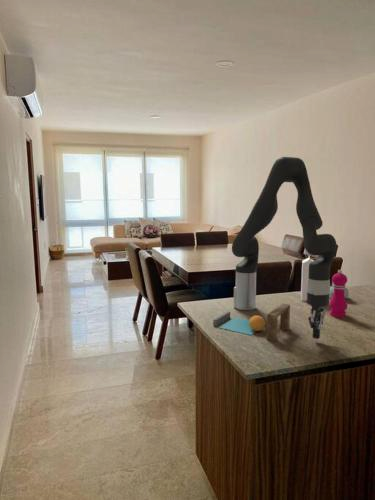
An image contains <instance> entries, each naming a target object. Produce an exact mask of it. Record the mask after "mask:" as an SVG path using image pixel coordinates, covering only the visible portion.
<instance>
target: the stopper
mask: <svg viewBox="0 0 375 500" xmlns="http://www.w3.org/2000/svg"><path fill="white" fill-rule="evenodd" d="M230 318H231V312H230V311H227V312H225V313H223V314H221V315H219V316H217V317H215V318H214V319H213V320H212V321H213V322H212V323H213V325H215V326H214V327H217V326H219V325H221V324H222V323H224V322H226V321H227V320H228V319H230ZM225 320H226V321H225ZM223 321H224V322H223ZM220 323H221V324H220ZM218 324H219V325H218ZM216 325H217V326H216Z"/></svg>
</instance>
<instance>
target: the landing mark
mask: <svg viewBox="0 0 375 500" xmlns="http://www.w3.org/2000/svg"><path fill="white" fill-rule="evenodd" d="M249 321H250V319H245V318H240V317H234V318H232V319H231V320H228V321H227V322H226V323H223V324H221V326H222V327H221V326H219V327H220V328H219V329H221V328H223V329H222V330H226V329H227V331H230V332H234V333H240V334H244V335H248V336H252V335H254V334H255V333H257V331H254V330H252V329H251V327H250V325H249ZM265 326H267V323H265Z"/></svg>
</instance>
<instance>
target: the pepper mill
mask: <svg viewBox="0 0 375 500" xmlns="http://www.w3.org/2000/svg"><path fill="white" fill-rule="evenodd" d="M346 275H347V274H344V273H343V270H342V269H338V270H337V273H335V274H334V275H332V277H331V282H332V281H333V283H334V284H333V288H334V294H333V296H332V298H330V299H329V305H328V306H329V308H330V311H329V315H330V316H332V317H335V318H345V317H346V314H347V312H346V310H347V308H348V303H347V302H348V301H347V300H346V299H347V298H346V299H345V296H344V289H345V288H347V286H346V284H347V283H348V276H346Z"/></svg>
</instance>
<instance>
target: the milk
mask: <svg viewBox="0 0 375 500" xmlns="http://www.w3.org/2000/svg"><path fill="white" fill-rule="evenodd" d="M313 261H315V260H314V259H312V258H311V255H308V257H307V258H305V259H303V260H302V261H301V263H302V264H301V283H300V284H301V285H300V299H301V301H302V302H307V283H308V275H309V264H310V263H311V262H313Z"/></svg>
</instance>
